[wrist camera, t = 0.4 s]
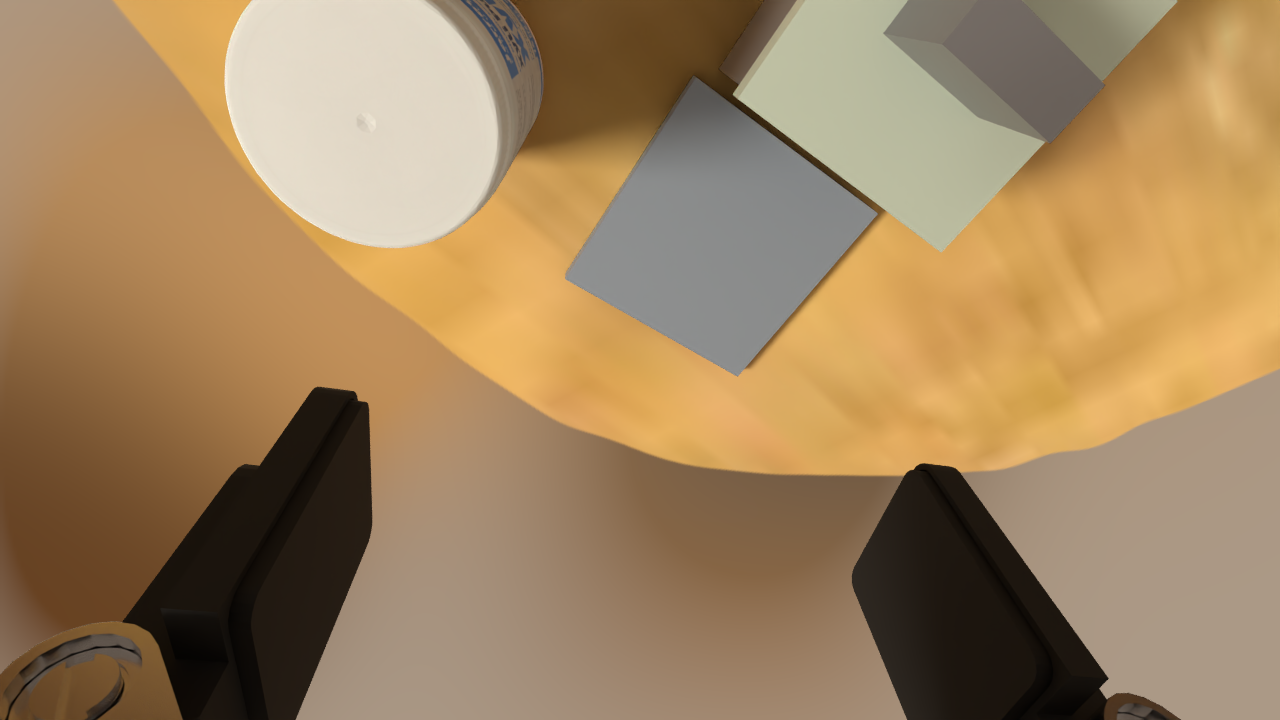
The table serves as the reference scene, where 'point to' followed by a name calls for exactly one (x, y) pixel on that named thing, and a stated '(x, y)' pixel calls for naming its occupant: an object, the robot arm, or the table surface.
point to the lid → (937, 91)
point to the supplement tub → (383, 109)
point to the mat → (717, 232)
